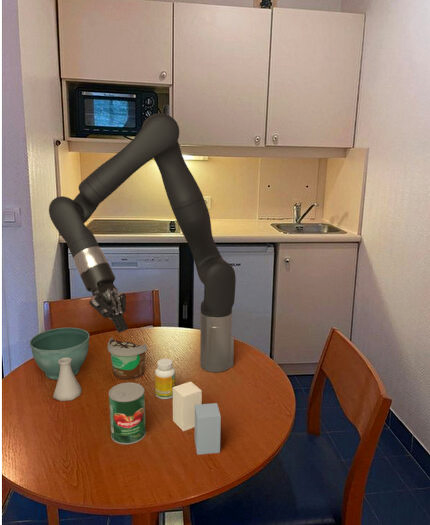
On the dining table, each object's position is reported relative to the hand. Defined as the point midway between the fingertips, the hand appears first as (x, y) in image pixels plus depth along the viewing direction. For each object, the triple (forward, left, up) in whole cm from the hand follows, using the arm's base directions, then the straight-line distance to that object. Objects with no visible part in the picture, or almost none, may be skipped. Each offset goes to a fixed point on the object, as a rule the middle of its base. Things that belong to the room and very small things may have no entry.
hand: (123, 330), depth 109 cm
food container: (-3, -15, -21) cm, 26 cm away
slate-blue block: (-13, +23, -21) cm, 33 cm away
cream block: (-12, +13, -21) cm, 27 cm away
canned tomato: (+2, +12, -21) cm, 24 cm away
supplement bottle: (-11, -1, -21) cm, 23 cm away
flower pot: (+13, -24, -21) cm, 35 cm away
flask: (+13, -11, -21) cm, 27 cm away
